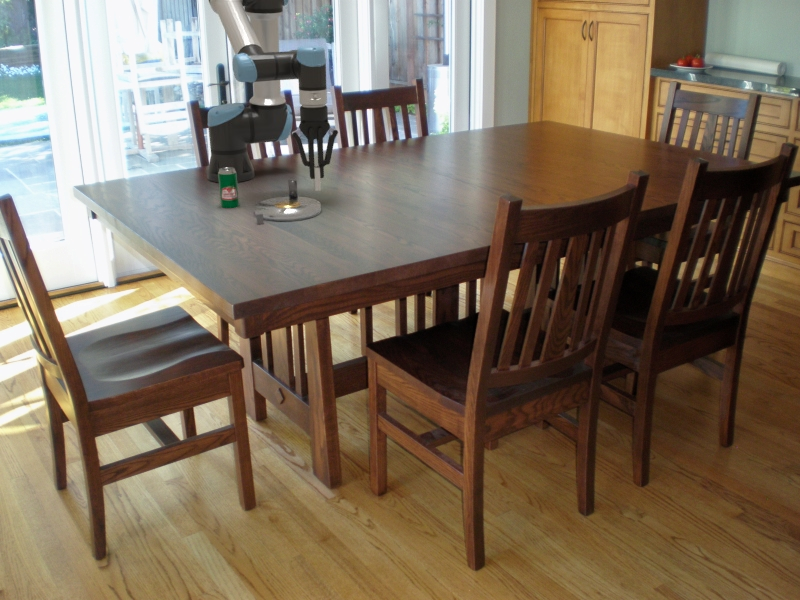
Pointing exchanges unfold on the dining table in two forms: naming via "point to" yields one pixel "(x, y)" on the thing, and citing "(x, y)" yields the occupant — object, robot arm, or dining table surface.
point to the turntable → (289, 206)
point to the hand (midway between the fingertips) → (317, 189)
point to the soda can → (228, 187)
